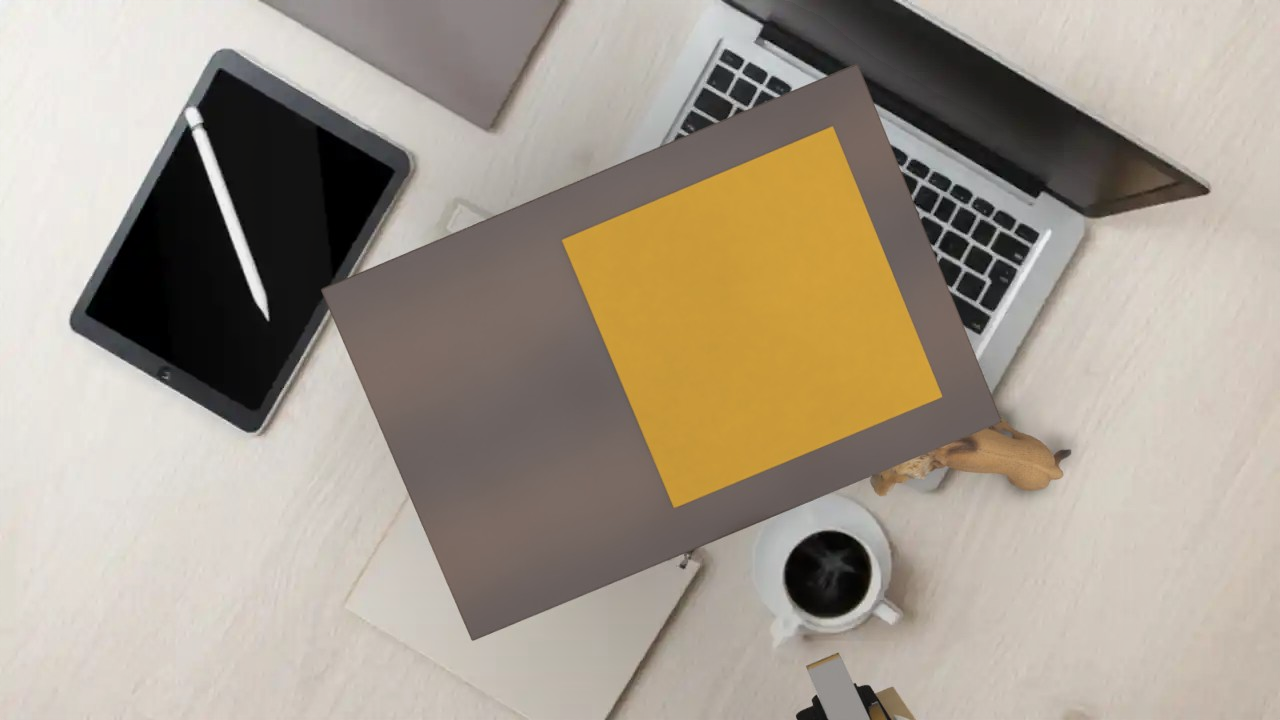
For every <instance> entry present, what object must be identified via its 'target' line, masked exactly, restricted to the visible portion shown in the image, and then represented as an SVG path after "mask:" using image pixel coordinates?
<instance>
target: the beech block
mask: <svg viewBox="0 0 1280 720" xmlns="http://www.w3.org/2000/svg"><path fill="white" fill-rule="evenodd" d="M874 693H875V694H876V696H877V697H878V699H879V701H880V702H881V704H882V705H883V707H884V708H885V710H886V712H887V713H888V715H889V716H890V718H891V720H894V718H893V715H898V716H902V717H905V718H907V719H909V720H917V719H916V718H915V716H914V714H913V713H912V712H911V710H910V708H909V707H908V706H907V704H906V703H905V701H904V700H903V698H902V697H901V696H900V693H898V691H897V690H896V689H895V687H894V686H890V687H888V688H884V689H882V690H880V691H877V692H874Z"/></svg>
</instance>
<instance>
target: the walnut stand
mask: <svg viewBox="0 0 1280 720" xmlns="http://www.w3.org/2000/svg"><path fill="white" fill-rule="evenodd" d="M879 115H880V114H879V113H878V110H877V108H876V105H875V102H874V99H873V97H872V94H871V92H870V90H869V88H868V85H867V83H866V81H865V78H864V75H863V73H862V71H861V68H860V66H859V64H858V63H855V64H852V65H851V66H848V67H845V68H843V69H840V70H838V71H836V72H834V73H831V74H829V75H827V76H824V77H822V78H819V79H817V80H814V81H812V82H810V83H807V84H805V85H802V86H801V87H798V88H796V89H794V90H791V91H788V92H786V93H784V94H781V95H779V96H776V97H774V98H771V99H770V100H767V101H765V102H763V103H759V104H758V105H755V106H753V107H751V108H748V109H746V110H744V111H741V112H739V113H736V114H734V115H731V116H728V117H727V118H724V119H722V120H719V121H717V122H715V123H713V124H710V125H708V126H705V127H703V128H701V129H700V128H699V129H698V130H696V131H693V132H690V133H689V134H686V135H683V136H681V137H679V138H676V139H674V140H672V141H669V142H667V143H665V144H662V145H660V146H658V147H655V148H653V149H650V150H648V151H645V152H643V153H641V154H638V155H636V156H634V157H631V158H629V159H627V160H624V161H622V162H619V163H617V164H615V165H612V166H610V167H608V168H605V169H602V170H600V171H598V172H596V173H593V174H591V175H588V176H586V177H584V178H582V179H579V180H577V181H575V182H572V183H570V184H567V185H564V186H563V187H560V188H558V189H555V190H553V191H551V192H548V193H546V194H543V195H541V196H538V197H537V198H534V199H532V200H529V201H527V202H524V203H522V204H520V205H517V206H515V207H512V208H511V209H508V210H505V211H503V212H501V213H498V214H495V215H493V216H491V217H489V218H487V219H484V220H481V221H479V222H476V223H474V224H472V225H470V226H468V227H465V228H462V229H460V230H457V231H455V232H453V233H451V234H449V235H446V236H443V237H441V238H439V239H436V240H434V241H431V242H430V243H427V244H424V245H422V246H420V247H417V248H414V249H412V250H410V251H408V252H406V253H403V254H400V255H398V256H396V257H394V258H391V259H389V260H386V261H384V262H382V263H380V264H377V265H375V266H372V267H370V268H367V269H365V270H363V271H360V272H357V273H355V274H352V275H351V276H348V277H346V278H344V279H341V280H339V281H337V282H334V283H332V284H329V285H327V286H324V287H322V288H321V289H320V291H321V293H322V297H323V298H324V301H325V304H326V305H327V308H328V310H329V313H330V314H331V317H332V319H333V321H334V324H335V325H336V328H337V331H338V333H339V336H340V338H341V340H342V342H343V344H344V347H345V349H346V353H347V354H348V357H349V359H350V361H351V364H352V367H353V368H354V371H355V372H356V375H357V377H358V381H359V383H360V385H361V387H362V389H363V392H364V393H365V396H366V398H367V400H368V403H369V405H370V407H371V410H372V412H373V415H374V417H375V419H376V421H377V424H378V426H379V429H380V431H381V434H382V435H383V438H384V440H385V442H386V444H387V447H388V449H389V452H390V454H391V456H392V459H393V461H394V464H395V466H396V468H397V471H398V473H399V475H400V478H401V480H402V483H403V484H404V487H405V488H406V492H407V494H408V496H409V498H410V501H411V503H412V505H413V508H414V511H415V512H416V515H417V517H418V519H419V521H420V524H421V526H422V528H423V531H424V534H425V536H426V538H427V540H428V543H429V545H430V547H431V550H432V552H433V555H434V557H435V559H436V561H437V563H438V566H439V569H440V570H441V573H442V575H443V577H444V580H445V582H446V585H447V586H448V589H449V591H450V593H451V596H452V598H453V600H454V603H455V606H456V607H457V610H458V612H459V614H460V617H461V620H462V622H463V625H464V626H465V628H466V631H467V634H468V636H469V637H470V640H471V641H472V642H474V641H476V640H479V639H481V638H484V637H486V636H488V635H491V634H494V633H496V632H498V631H501V630H503V629H505V628H508V627H510V626H513V625H515V624H518V623H520V622H522V621H525V620H527V619H530V618H532V617H534V616H537V615H539V614H541V613H545V612H547V611H549V610H552V609H554V608H556V607H559V606H561V605H564V604H566V603H568V602H571V601H573V600H576V599H578V598H580V597H583V596H586V595H587V594H590V593H592V592H595V591H597V590H601V589H602V588H604V587H607V586H609V585H612V584H614V583H617V582H619V581H621V580H624V579H626V578H629V577H631V576H633V575H634V576H635V575H636V574H638V573H641V572H643V571H645V570H648V569H651V568H654V567H655V566H658V565H660V564H663V563H665V562H668V561H670V560H673V559H675V558H677V557H679V556H680V557H681V556H682V555H684V554H687V553H689V552H692V551H694V550H696V549H699V548H701V547H704V546H706V545H708V544H711V543H714V542H716V541H718V540H721V539H724V538H725V537H728V536H730V535H733V534H735V533H738V532H740V531H743V530H744V529H748V528H750V527H752V526H754V525H757V524H760V523H761V522H764V521H766V520H769V519H771V518H774V517H776V516H778V515H781V514H783V513H785V512H788V511H791V510H793V509H796V508H798V507H801V506H803V505H805V504H808V503H810V502H812V501H815V500H818V499H820V498H823V497H824V496H826V495H829V494H832V493H834V492H838V491H839V490H841V489H844V488H846V487H849V486H851V485H854V484H856V483H858V482H861V481H863V480H866V479H868V478H871V477H872V476H873V475H875V474H878V473H880V472H883V471H885V470H887V469H890V468H892V467H895V466H897V465H900V464H902V463H904V462H907V461H909V460H912V459H914V458H916V457H919V456H921V455H924V454H926V453H929V452H931V451H933V450H936V449H938V448H941V447H943V446H946V445H948V444H950V443H953V442H955V441H958V440H960V439H962V438H965V437H967V436H970V435H972V434H975V433H977V432H979V431H982V430H984V429H990V427H991V426H994V425H996V424H999V423H1001V422H1002V420H1001V418H1002V417H1001V415H1000V413H999V409H998V407H997V405H996V402H995V401H994V397H993V395H992V392H991V390H990V388H989V385H988V383H987V380H986V378H985V375H984V373H983V371H982V368H981V366H980V363H979V360H978V357H977V356H976V352H975V351H974V348H973V345H972V343H971V341H970V338H969V335H968V333H967V330H966V328H965V326H964V323H963V320H962V318H961V316H960V313H959V311H958V308H957V306H956V304H955V300H954V298H953V295H952V293H951V291H950V288H949V285H948V284H947V283H948V282H947V281H946V278H945V276H944V274H943V271H942V268H941V266H940V264H939V260H938V258H937V256H936V253H935V252H934V248H933V247H932V244H931V241H930V239H929V237H928V233H927V232H926V231H927V230H925V227H924V224H923V221H922V219H921V216H920V214H919V212H918V209H917V207H916V204H915V202H914V199H913V197H912V194H911V192H910V190H909V187H908V185H907V182H906V179H905V177H904V174H903V172H902V170H901V167H900V164H899V162H898V159H897V158H896V157H897V156H896V155H895V152H894V150H893V148H892V144H891V143H890V140H889V137H888V135H887V133H886V130H885V127H884V125H883V123H882V120H881V118H880V116H879ZM831 126H833V128H834V130H835V132H836V135H837V137H838V140H839V142H840V145H841V147H842V150H843V152H844V155H845V157H846V160H847V162H848V165H849V167H850V169H851V172H852V174H853V177H854V179H855V182H856V184H857V187H858V189H859V192H860V194H861V197H862V199H863V202H864V204H865V206H866V209H867V211H868V214H869V216H870V219H871V221H872V224H873V226H874V229H875V231H876V234H877V236H878V238H879V241H880V243H881V246H882V248H883V251H884V253H885V256H886V258H887V261H888V263H889V266H890V268H891V271H892V273H893V275H894V278H895V280H896V283H897V285H898V288H899V290H900V293H901V295H902V298H903V300H904V303H905V305H906V308H907V310H908V312H909V315H910V317H911V320H912V322H913V325H914V327H915V330H916V332H917V335H918V337H919V340H920V342H921V344H922V347H923V349H924V352H925V354H926V357H927V359H928V362H929V364H930V367H931V369H932V372H933V374H934V377H935V379H936V381H937V384H938V386H939V389H940V391H941V394H942V398H939V399H937V400H934V401H932V402H930V403H927V404H925V405H922V406H920V407H918V408H915V409H913V410H910V411H908V412H905V413H903V414H901V415H898V416H896V417H893V418H891V419H889V420H886V421H884V422H881V423H879V424H877V425H874V426H872V427H869V428H867V429H864V430H862V431H860V432H857V433H855V434H852V435H850V436H848V437H845V438H843V439H840V440H838V441H836V442H833V443H831V444H828V445H826V446H823V447H821V448H819V449H816V450H814V451H811V452H809V453H807V454H804V455H802V456H799V457H797V458H795V459H792V460H790V461H787V462H785V463H782V464H780V465H778V466H775V467H773V468H770V469H768V470H766V471H763V472H761V473H758V474H756V475H753V476H751V477H749V478H746V479H744V480H741V481H739V482H737V483H734V484H732V485H729V486H727V487H725V488H722V489H720V490H717V491H715V492H712V493H710V494H708V495H705V496H703V497H700V498H698V499H696V500H693V501H691V502H688V503H686V504H684V505H681V506H679V507H676V508H674V507H673V505H672V503H671V500H670V498H669V495H668V493H667V491H666V488H665V486H664V484H663V481H662V479H661V476H660V474H659V472H658V469H657V467H656V464H655V462H654V460H653V457H652V455H651V453H650V450H649V448H648V445H647V443H646V441H645V438H644V436H643V433H642V431H641V429H640V426H639V424H638V422H637V419H636V417H635V414H634V412H633V410H632V407H631V405H630V402H629V400H628V398H627V395H626V393H625V391H624V388H623V386H622V383H621V381H620V379H619V376H618V374H617V371H616V369H615V367H614V364H613V362H612V359H611V357H610V355H609V352H608V350H607V348H606V345H605V343H604V340H603V338H602V336H601V333H600V331H599V328H598V326H597V324H596V321H595V319H594V317H593V314H592V312H591V309H590V307H589V305H588V302H587V300H586V297H585V295H584V293H583V290H582V288H581V286H580V283H579V281H578V278H577V276H576V274H575V271H574V269H573V266H572V264H571V262H570V259H569V257H568V255H567V252H566V250H565V247H564V245H563V243H562V239H564V238H567V237H569V236H572V235H574V234H576V233H579V232H581V231H584V230H586V229H588V228H591V227H593V226H595V225H598V224H600V223H603V222H605V221H607V220H610V219H612V218H615V217H617V216H619V215H622V214H624V213H626V212H629V211H631V210H634V209H636V208H638V207H641V206H643V205H646V204H648V203H650V202H653V201H655V200H657V199H660V198H662V197H665V196H667V195H669V194H672V193H674V192H677V191H679V190H681V189H684V188H686V187H688V186H691V185H693V184H696V183H698V182H700V181H703V180H705V179H707V178H710V177H712V176H715V175H717V174H719V173H722V172H724V171H727V170H729V169H731V168H734V167H736V166H738V165H741V164H743V163H746V162H748V161H750V160H753V159H755V158H758V157H760V156H762V155H765V154H767V153H769V152H772V151H774V150H777V149H779V148H781V147H784V146H786V145H789V144H791V143H793V142H796V141H798V140H800V139H803V138H805V137H808V136H810V135H812V134H815V133H817V132H820V131H822V130H824V129H827V128H829V127H831Z"/></svg>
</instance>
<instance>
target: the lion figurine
mask: <svg viewBox="0 0 1280 720" xmlns="http://www.w3.org/2000/svg"><path fill="white" fill-rule="evenodd" d="M1001 420H1002V422H1001V423H999V424H996V425H994V426H991V427H989V428H987V429H984V430H982V431H979V432H977V433H975V434H972V435H970V436H967V437H965V438H962V439H960V440H958V441H955V442H953V443H950V444H948V445H946V446H943V447H941V448H938V449H936V450H933V451H931V452H929V453H926V454H924V455H921V456H919V457H916V458H914V459H912V460H909V461H907V462H904V463H902V464H900V465H897V466H895V467H892V468H890V469H887V470H885V471H883V472H880V473H878V474H875V475H873V476H871V477H870V481H869V483H870V485H871V487H872V488H873V491H874V493H875V494H876V495H877V496H879V497H886V496H887V495H888V494H889V493H890V492H891V491H893V489H894V487H895V486H896V484H904V483H906V482H907V481H909V480H910V479H920V480H926V479H927V478H926V476H929V474H930V473H931V472H934V471H935V470H937V469H938V470H939V469H943V468H946V467H947V468H950V469H953V470H957V471H960V472H964V473H975V474H990V475H991V474H993V475H994V474H996V475H1002V476H1003V475H1004V476H1006V478H1007V480H1008V481H1009V483H1010V484H1011V486H1014V487H1016V488H1018V489H1020V490H1022V491H1027V492H1032V491H1039V490H1044V489H1046V488H1047V487H1048V486H1049V484H1050V482H1051V481H1057V480H1061V479H1062V478H1063V477H1064V471H1063V470H1062V469H1061V467H1060V464H1061V462H1062V461H1064V459H1067V458H1069V457H1070V456H1071V455H1072V449H1069V448H1068V449H1060V450H1058V451H1057V452H1055V454H1053V451H1051V450H1050V448H1048V446H1047V445H1046V444H1045V443H1044V442H1043V441H1041V440H1039V439H1038V438H1036V437H1034V436H1033V435H1030V434H1026V433H1024V432H1021V431H1018V430H1016V429H1014V428H1013V427H1012V426H1011V425H1010V423H1009V422H1008V421H1007V420H1005V419H1004V418H1003V417H1001Z"/></svg>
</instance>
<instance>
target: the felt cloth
mask: <svg viewBox="0 0 1280 720" xmlns="http://www.w3.org/2000/svg"><path fill="white" fill-rule="evenodd" d="M562 243H563V245H564V247H565V250H566V252H567V255H568V257H569V259H570V262H571V264H572V266H573V269H574V271H575V274H576V276H577V278H578V281H579V283H580V286H581V288H582V290H583V293H584V295H585V297H586V300H587V302H588V305H589V307H590V309H591V312H592V314H593V317H594V319H595V321H596V324H597V326H598V328H599V331H600V333H601V336H602V338H603V340H604V343H605V345H606V348H607V350H608V352H609V355H610V357H611V359H612V362H613V364H614V367H615V369H616V371H617V374H618V376H619V379H620V381H621V383H622V386H623V388H624V391H625V393H626V395H627V398H628V400H629V402H630V405H631V407H632V410H633V412H634V414H635V417H636V419H637V422H638V424H639V426H640V429H641V431H642V433H643V436H644V438H645V441H646V443H647V445H648V448H649V450H650V453H651V455H652V457H653V460H654V462H655V464H656V467H657V469H658V472H659V474H660V476H661V479H662V481H663V484H664V486H665V488H666V491H667V493H668V495H669V498H670V500H671V503H672V505H673V507H674V508H676V507H679V506H681V505H684V504H686V503H688V502H691V501H693V500H696V499H698V498H700V497H703V496H705V495H708V494H710V493H712V492H715V491H717V490H720V489H722V488H725V487H727V486H729V485H732V484H734V483H737V482H739V481H741V480H744V479H746V478H749V477H751V476H753V475H756V474H758V473H761V472H763V471H766V470H768V469H770V468H773V467H775V466H778V465H780V464H782V463H785V462H787V461H790V460H792V459H795V458H797V457H799V456H802V455H804V454H807V453H809V452H811V451H814V450H816V449H819V448H821V447H823V446H826V445H828V444H831V443H833V442H836V441H838V440H840V439H843V438H845V437H848V436H850V435H852V434H855V433H857V432H860V431H862V430H864V429H867V428H869V427H872V426H874V425H877V424H879V423H881V422H884V421H886V420H889V419H891V418H893V417H896V416H898V415H901V414H903V413H905V412H908V411H910V410H913V409H915V408H918V407H920V406H922V405H925V404H927V403H930V402H932V401H934V400H937V399H939V398H942V394H941V391H940V389H939V386H938V384H937V381H936V379H935V377H934V374H933V372H932V369H931V367H930V364H929V362H928V359H927V357H926V354H925V352H924V349H923V347H922V344H921V342H920V340H919V337H918V335H917V332H916V330H915V327H914V325H913V322H912V320H911V317H910V315H909V312H908V310H907V308H906V305H905V303H904V300H903V298H902V295H901V293H900V290H899V288H898V285H897V283H896V280H895V278H894V275H893V273H892V271H891V268H890V266H889V263H888V261H887V258H886V256H885V253H884V251H883V248H882V246H881V243H880V241H879V238H878V236H877V234H876V231H875V229H874V226H873V224H872V221H871V219H870V216H869V214H868V211H867V209H866V206H865V204H864V202H863V199H862V197H861V194H860V192H859V189H858V187H857V184H856V182H855V179H854V177H853V174H852V172H851V169H850V167H849V165H848V162H847V160H846V157H845V155H844V152H843V150H842V147H841V145H840V142H839V140H838V137H837V135H836V132H835V130H834V128H833V126H831V127H829V128H827V129H824V130H822V131H820V132H817V133H815V134H812V135H810V136H808V137H805V138H803V139H800V140H798V141H796V142H793V143H791V144H789V145H786V146H784V147H781V148H779V149H777V150H774V151H772V152H769V153H767V154H765V155H762V156H760V157H758V158H755V159H753V160H750V161H748V162H746V163H743V164H741V165H738V166H736V167H734V168H731V169H729V170H727V171H724V172H722V173H719V174H717V175H715V176H712V177H710V178H707V179H705V180H703V181H700V182H698V183H696V184H693V185H691V186H688V187H686V188H684V189H681V190H679V191H677V192H674V193H672V194H669V195H667V196H665V197H662V198H660V199H657V200H655V201H653V202H650V203H648V204H646V205H643V206H641V207H638V208H636V209H634V210H631V211H629V212H626V213H624V214H622V215H619V216H617V217H615V218H612V219H610V220H607V221H605V222H603V223H600V224H598V225H595V226H593V227H591V228H588V229H586V230H584V231H581V232H579V233H576V234H574V235H572V236H569V237H567V238H564V239H562Z"/></svg>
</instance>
